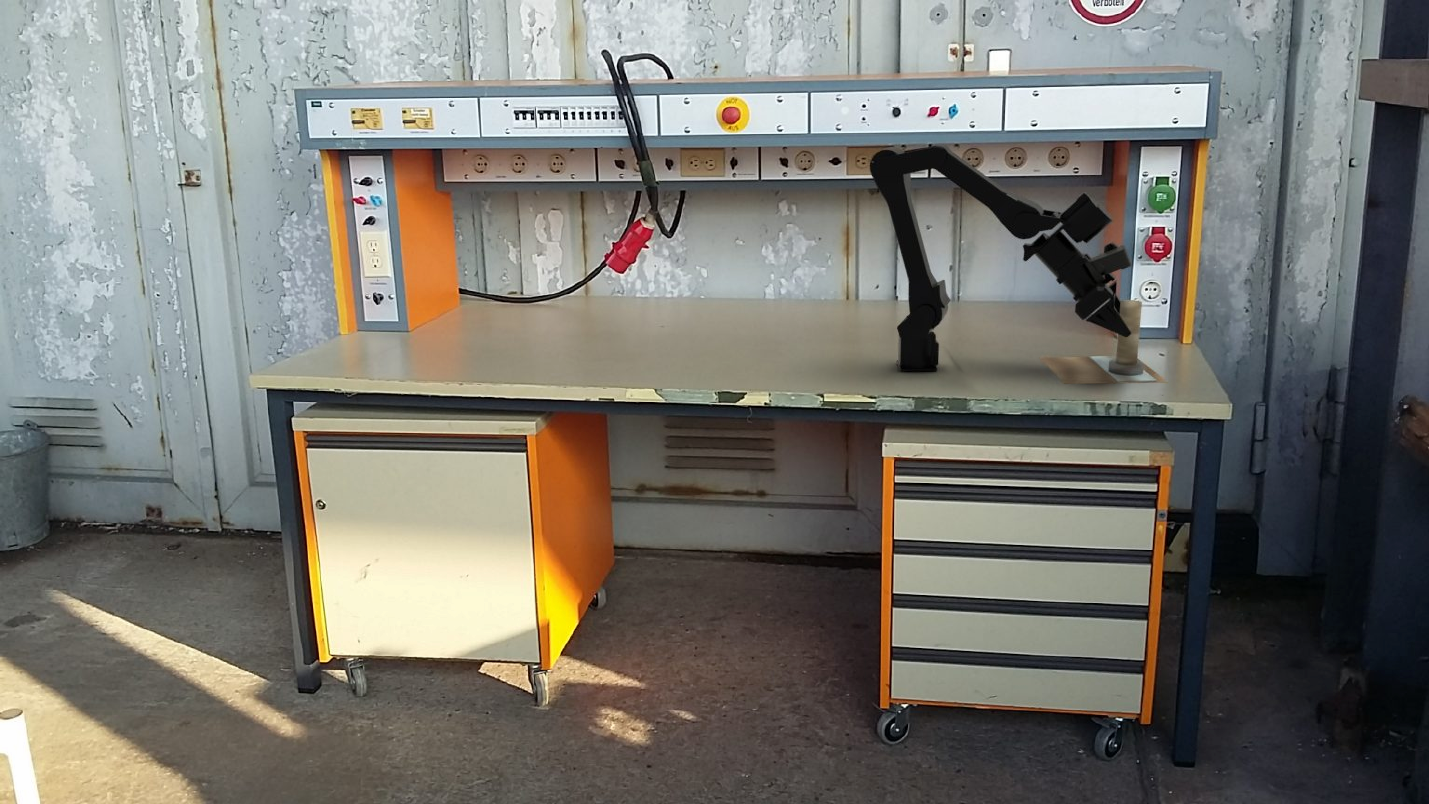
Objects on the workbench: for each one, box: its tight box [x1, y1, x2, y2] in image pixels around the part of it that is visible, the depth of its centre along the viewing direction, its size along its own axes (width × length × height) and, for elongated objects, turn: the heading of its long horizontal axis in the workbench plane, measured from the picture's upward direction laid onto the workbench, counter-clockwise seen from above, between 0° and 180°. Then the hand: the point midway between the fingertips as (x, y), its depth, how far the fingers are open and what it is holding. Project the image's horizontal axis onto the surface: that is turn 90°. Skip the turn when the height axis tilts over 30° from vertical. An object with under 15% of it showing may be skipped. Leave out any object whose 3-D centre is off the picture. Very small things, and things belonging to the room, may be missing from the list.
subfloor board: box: [1039, 355, 1169, 385], centre depth 211 cm, size 17×18×1 cm
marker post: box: [1108, 299, 1145, 376], centre depth 206 cm, size 6×6×12 cm
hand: (1129, 329), depth 206 cm, fingers open, 9 cm apart
